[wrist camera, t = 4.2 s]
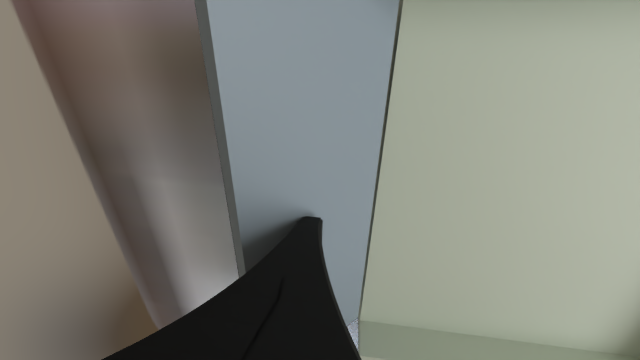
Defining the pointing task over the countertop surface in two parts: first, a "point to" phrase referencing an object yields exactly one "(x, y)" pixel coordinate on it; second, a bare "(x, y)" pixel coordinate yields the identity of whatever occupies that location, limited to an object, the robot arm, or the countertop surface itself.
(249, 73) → the panel
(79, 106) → the countertop surface
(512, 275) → the tray
